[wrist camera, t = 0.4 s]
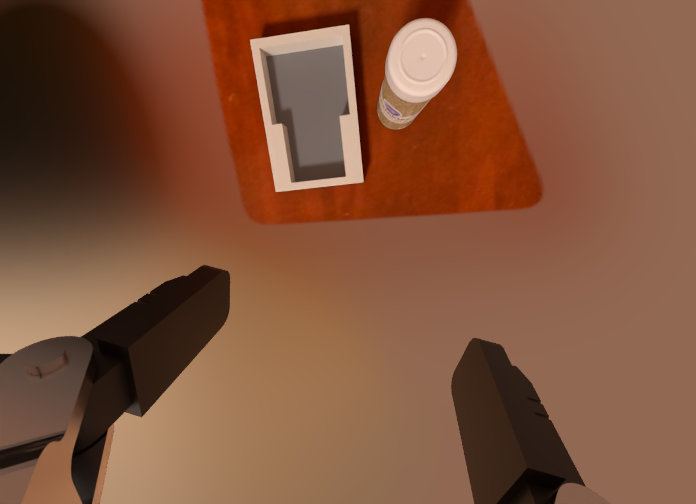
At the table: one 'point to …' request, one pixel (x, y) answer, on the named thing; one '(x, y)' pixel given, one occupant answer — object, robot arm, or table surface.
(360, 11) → the table surface
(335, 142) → the shallow tray
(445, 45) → the sprinkles bottle
